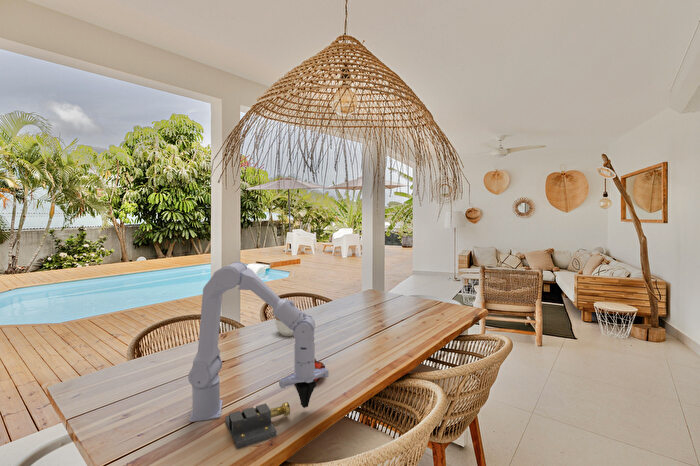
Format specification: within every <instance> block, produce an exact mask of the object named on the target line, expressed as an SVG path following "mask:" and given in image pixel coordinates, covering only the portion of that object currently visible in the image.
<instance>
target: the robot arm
mask: <svg viewBox="0 0 700 466" xmlns="http://www.w3.org/2000/svg"><path fill="white" fill-rule="evenodd" d="M236 287H238V288H237V290H239V291H240V290H243V291H250V292H253V294H255V295H256V296H257V297H259V298H260V299H261V300H262V301H263V302H265V303H266V304H267V305H269V306H270V307H271V308H272V314H273V316H274V317H275V316H276V317H277V318H278V319H279V320H280V321H281V322H282V323H284V324H285V325H286V326H287V327H288V328H289V329H291V330H293V337H294V341H295V342H294V345H293V346H294V364H293V365H294V366H293V367H294V372H293V373H291V374H289V375H286V376H285V377H282V378H281V377H280V378H279V379H278V380H279V381H278V387H280V389H285V388H286V387H288V386H292V385H294V387H295V389H296V391H297V394H298V396H299V400H300V406H302V408H303V409H305V408H308V407H309V404H310V401H311V400H310V399H311V397H312V394H313V393H314V390H315V388H316V387H317V381H314V379H316V378H320V377H321V378H323V377H324V378H329V374H330V373H329V369H328V368H326V367H325V368H322V369H315V359H316V358H315V355H316V353H315V329H316V323H315V319H314V318H313V317H312V316H311V315H309V314H307V313H306V312H303V311H301V310H300V309H299V308H298V307H297V306H296V305H295V301H293V299H290V300H289V299H288V298H280V296H278V295H277V293H275V291H273V290H272V288H271V287H270V286H269V285H267V284H266V283H265V282H264V281H263V280H262V279H261V278H260V276H259V275H257V274H256V272H254V270H253V269H251V268H250V267H247V265H246V264H245V263H244V262H242V261H233V262H231V263H230V264H228V265H225V266H223V267H220V268H219V269H218V270H215V271H214V273H213V275H212V276H211V277H210V279H209V280H208V281H207V283H206V284H205V285H204V286H203V288H202V298H201V311H200V312H201V313H200V320H199V321H200V323H199V332H198V335H199V336H198V346H197V347H198V348H197V351H196V354H195V357H194V358H193V361H192V367H191V369H190V371H189V372H188V375H187V376H188V377H187V379H188V382H189V384H190V385H191V387H192V388H191V390H192V391H191V393H192V394H191V395H192V399H191V400H192V410H191V413H190V417H189V419H188V421H189V422H190V423H194V422H200V421H207V420H214V419H220V418H221V415H222V409H223V408H222V407H223V402H224V401H223V399H221V398H220V396H221V395H220V394H221V393H220V387H221V385H220V376H219V372H220V371H221V369H222V367H223V360H222V358H221V354H220V353H221V349H219V339H220V338H219V337H220V326H221V325H220V324H221V315H222V314H221V312H222V301H223V294H224V293H226V292H227V291H229V290H233V289H234V288H236ZM321 378H320V379H321Z"/></svg>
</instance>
